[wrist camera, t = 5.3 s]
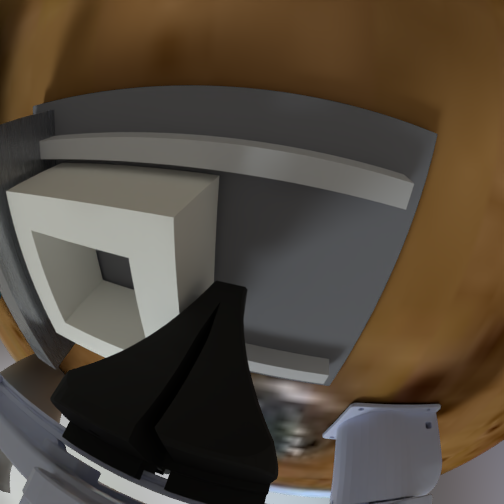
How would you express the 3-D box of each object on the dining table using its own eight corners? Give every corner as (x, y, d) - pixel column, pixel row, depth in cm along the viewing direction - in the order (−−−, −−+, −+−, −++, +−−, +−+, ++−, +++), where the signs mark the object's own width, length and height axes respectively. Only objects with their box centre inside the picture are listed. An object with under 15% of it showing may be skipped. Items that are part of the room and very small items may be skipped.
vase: (46, 374, 37) (-8, 464, 16) (9, 321, 29) (-63, 424, 8) (99, 405, 34) (44, 514, 13) (59, 352, 27) (-21, 488, 6)
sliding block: (219, 175, 10) (173, 217, 7) (212, 332, 15) (189, 389, 12) (62, 162, 11) (5, 191, 8) (89, 293, 16) (56, 332, 13)
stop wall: (54, 109, 10) (-31, 137, 5) (94, 318, 18) (56, 369, 13) (35, 113, 10) (-41, 141, 6) (76, 310, 18) (38, 358, 14)
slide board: (429, 131, 8) (451, 139, 7) (329, 376, 17) (328, 400, 15) (42, 104, 11) (17, 110, 9) (81, 307, 19) (68, 323, 18)
